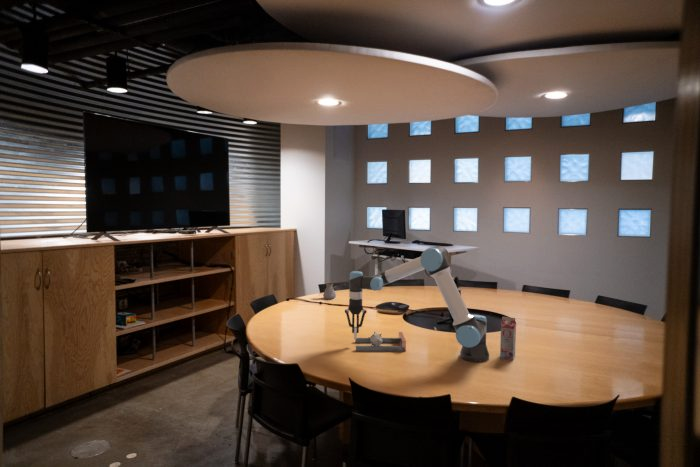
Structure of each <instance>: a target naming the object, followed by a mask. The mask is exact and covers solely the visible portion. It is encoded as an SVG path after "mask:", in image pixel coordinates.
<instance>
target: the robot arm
mask: <svg viewBox="0 0 700 467" xmlns="http://www.w3.org/2000/svg"><path fill="white" fill-rule="evenodd" d="M449 260H450V254H449V251H448V249H447V248H445V247H444V246H442V245H434V246H430V247H427V248H426V249H425V250H424V251H423V252H422V253H421V255H420V256H419V257H416V258H413V259H411V260H409V261H406V262H404V263H401V264H398V265H397V266H394V267H391V268H389V269H387V270H385V271H382V272H380V273H377V274H374V275H372V276H370V275H369V276H368V275H364V274H363V272H362V271H361V270H360V271H358V270H353V271H350V273H349V279H348V280H349V290H348V293H349V296H348V297H349V298H348V300H349V301H348V302H349V303H348V308H346V309H344V313H345V314H346V318H347V322H348V327H350V328H351V333H352V334H353V340H355V339H357V338H358V336H357V335H358V334H359V333H360V332H359V331H360V330H359V329H360V328H362V327H363V323H364V319H365V315H366V314H367V313H368V312H367V309H364V306H363V299H362V298H363V290H368V291H369V290H370V291H381V290H382V289H383V287H384V286H386V285H389V284H391V283H393V282H397V281H399V280H400V279H403V278H406V277H409V276H412V275H414V274H416V273H418V272H422V271H424V270H425V271H426V272H427V273H428V276H429V277H431V278H433V279H434V281H435V283H436V285H437V287H438V289H439V292H440V293H441V295H442V298H443V300H444V302H445V304H446V306H447V309H448V311H449V312H450V315H451V317H452V319H453V322H452V326H453V328H454V330H455V339H456V342H457V343H459V345H461V348H460V351H459V353H460V354H459V357H460V358H461V359H463V360H465V361H468V362H469V361H470V362H474V363H482V362H488V361H489V360H490V353H489V350H488V345H487V324H488V321H487V316H485V315H480V314H471V313H470V312H469V310H468V308H467V306H466V303H465V302H464V299H463V298H462V295H461V293H460V291H459V289H458V287H457V284H456V283H455V281H454V278H453V276H452V275H451V273H450V269H451V266H450V263H449ZM349 312H350V313H351V314H352V316H351V318H350V313H349ZM361 313H362V315H361V318H360V314H361ZM355 315H356V326H355ZM351 319H352V320H351ZM359 319H360V320H359Z"/></svg>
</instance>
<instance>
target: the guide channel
mask: <svg viewBox="0 0 700 467" xmlns="http://www.w3.org/2000/svg"><path fill="white" fill-rule="evenodd" d="M354 340H355V341H354V343H355V344H371V341H370V337H369V338H368V337H357V339H354ZM382 340H383V341H384V342H382V343H381V344H399V345H379V346H373V345H372V346H371V345H355V352H406V351H407V348H406V347H407V346H406V345H407V343H406V342H407V340H406V338H405V335H404V334H403V332H402V331H398V337H382Z"/></svg>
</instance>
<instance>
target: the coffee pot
mask: <svg viewBox="0 0 700 467" xmlns="http://www.w3.org/2000/svg"><path fill="white" fill-rule="evenodd" d="M325 285H326V288H325V289H324V291H323V295H322V297H323V298H324V299H325V300H334V299H335V298H336V296H337V294H336V292H335V290H334V289H335V288H337V287H340V286H342V285H344V286H346V283H345V282H343V283H339V284H337V285H336V286H333V285H334V283H330V282H329V283H326V284H325Z"/></svg>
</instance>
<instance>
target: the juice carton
mask: <svg viewBox="0 0 700 467" xmlns="http://www.w3.org/2000/svg"><path fill="white" fill-rule="evenodd" d="M516 335H517V322H516V318H515V317H510V316H502V318H501V322H500V348H499V349H500V351H499V355H500V356H499V358H500V359H501V360H502V359H503V360H509V361H510V360H511V361H514V360H515V358H516V341H517V339H516V337H517V336H516Z"/></svg>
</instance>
